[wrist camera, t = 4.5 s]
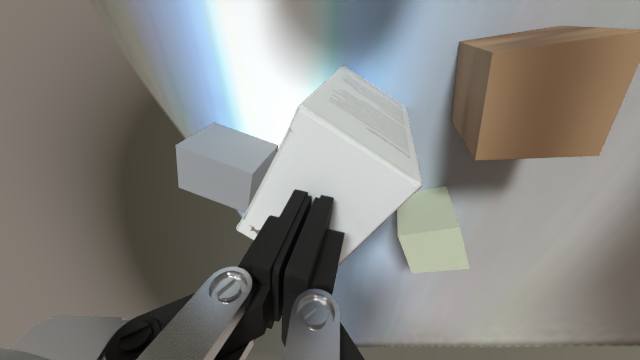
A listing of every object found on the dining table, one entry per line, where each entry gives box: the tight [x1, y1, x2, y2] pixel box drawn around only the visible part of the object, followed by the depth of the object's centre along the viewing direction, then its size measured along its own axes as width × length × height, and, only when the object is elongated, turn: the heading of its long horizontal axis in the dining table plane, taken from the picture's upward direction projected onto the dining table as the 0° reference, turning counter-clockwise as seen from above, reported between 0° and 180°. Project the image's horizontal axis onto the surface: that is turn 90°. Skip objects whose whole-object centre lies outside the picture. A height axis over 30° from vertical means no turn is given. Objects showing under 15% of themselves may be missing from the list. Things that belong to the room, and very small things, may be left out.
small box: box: [236, 65, 422, 265], centre depth 16 cm, size 8×6×10 cm
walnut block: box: [451, 26, 640, 160], centre depth 13 cm, size 5×5×6 cm
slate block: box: [176, 122, 278, 212], centre depth 21 cm, size 6×4×5 cm, turn 74°
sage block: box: [397, 186, 469, 273], centre depth 20 cm, size 4×4×5 cm
